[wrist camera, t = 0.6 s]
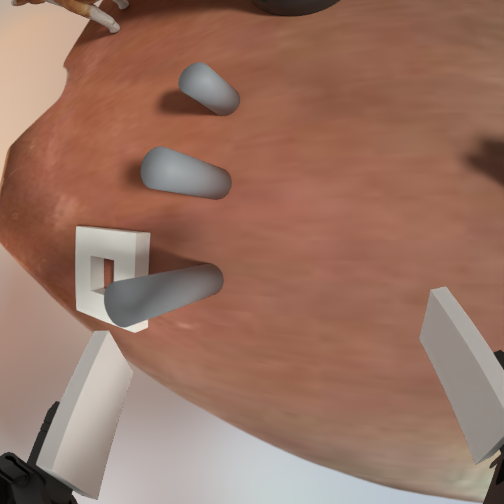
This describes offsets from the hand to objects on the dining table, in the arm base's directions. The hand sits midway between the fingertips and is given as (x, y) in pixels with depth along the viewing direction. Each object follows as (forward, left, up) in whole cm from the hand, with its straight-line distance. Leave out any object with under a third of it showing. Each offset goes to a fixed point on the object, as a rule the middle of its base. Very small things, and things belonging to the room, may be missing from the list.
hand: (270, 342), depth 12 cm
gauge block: (+5, -32, -23) cm, 40 cm away
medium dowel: (-9, -15, -23) cm, 29 cm away
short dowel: (-20, -15, -23) cm, 34 cm away
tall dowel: (+3, -15, -23) cm, 28 cm away
